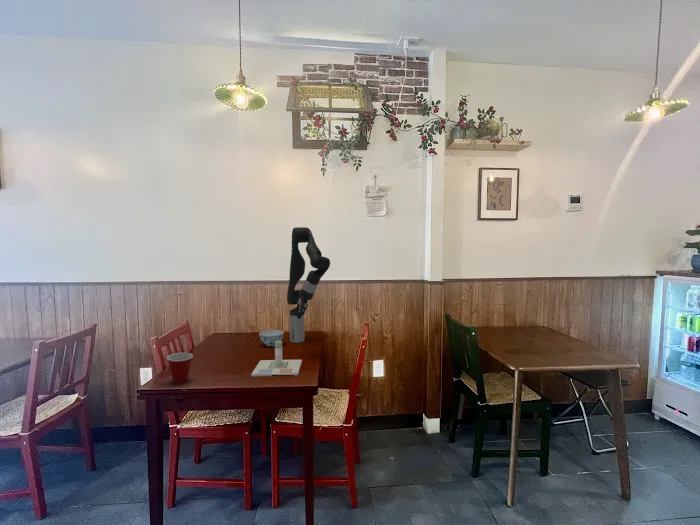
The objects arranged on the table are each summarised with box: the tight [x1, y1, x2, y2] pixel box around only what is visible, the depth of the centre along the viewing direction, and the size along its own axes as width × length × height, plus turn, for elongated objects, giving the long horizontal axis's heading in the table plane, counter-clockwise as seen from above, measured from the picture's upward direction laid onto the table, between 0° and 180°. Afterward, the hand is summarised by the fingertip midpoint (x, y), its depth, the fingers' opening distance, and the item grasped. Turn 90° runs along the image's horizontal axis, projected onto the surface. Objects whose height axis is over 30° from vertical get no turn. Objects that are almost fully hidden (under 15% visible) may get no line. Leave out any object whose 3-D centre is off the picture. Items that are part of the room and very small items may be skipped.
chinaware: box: [258, 329, 285, 347], centre depth 216 cm, size 15×15×8 cm
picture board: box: [250, 359, 303, 377], centre depth 175 cm, size 20×22×1 cm
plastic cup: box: [166, 352, 194, 384], centre depth 159 cm, size 11×11×12 cm
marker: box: [274, 340, 283, 366], centre depth 176 cm, size 4×4×12 cm
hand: (297, 314), depth 192 cm, fingers open, 8 cm apart
